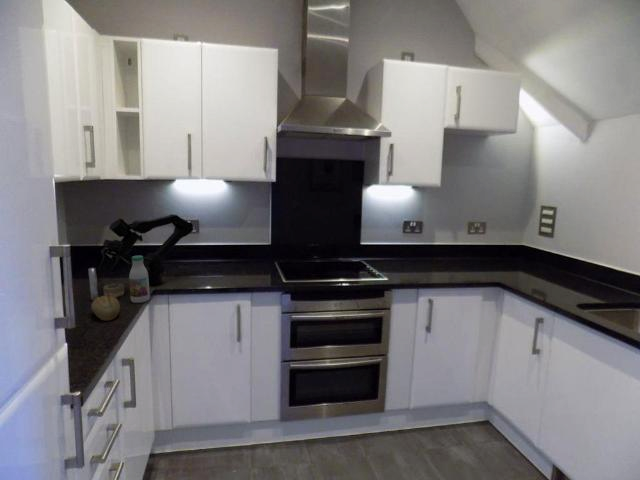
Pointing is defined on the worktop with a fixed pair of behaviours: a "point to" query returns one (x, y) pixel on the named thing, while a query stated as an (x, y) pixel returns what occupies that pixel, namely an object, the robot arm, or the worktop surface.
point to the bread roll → (106, 307)
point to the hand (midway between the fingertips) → (105, 270)
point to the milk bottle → (139, 281)
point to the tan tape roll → (114, 290)
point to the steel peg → (93, 283)
